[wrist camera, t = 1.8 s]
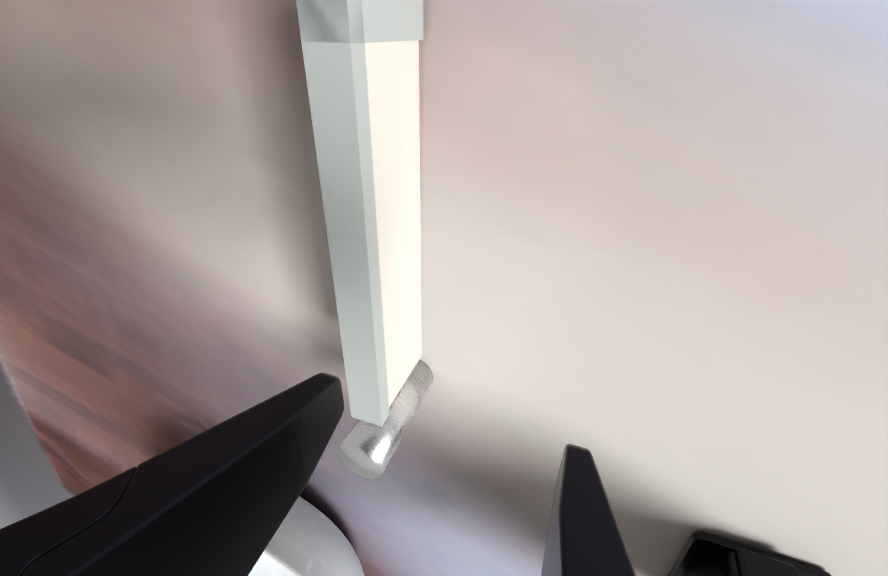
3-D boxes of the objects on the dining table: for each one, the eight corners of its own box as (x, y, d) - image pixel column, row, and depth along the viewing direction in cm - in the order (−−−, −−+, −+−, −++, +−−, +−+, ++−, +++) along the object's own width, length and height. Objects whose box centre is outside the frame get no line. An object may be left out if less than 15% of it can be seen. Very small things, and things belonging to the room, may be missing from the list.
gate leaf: (424, 356, 24) (381, 426, 20) (399, 349, 25) (351, 416, 20) (423, -13, 15) (344, -29, 11) (382, -12, 16) (292, -28, 11)
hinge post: (433, 393, 26) (384, 485, 21) (396, 383, 26) (340, 470, 21) (433, 362, 25) (381, 453, 19) (395, 352, 25) (334, 437, 20)
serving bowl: (301, 585, 49) (260, 656, 44) (172, 458, 44) (107, 520, 39) (436, 587, 38) (404, 682, 33) (284, 417, 33) (215, 495, 28)
